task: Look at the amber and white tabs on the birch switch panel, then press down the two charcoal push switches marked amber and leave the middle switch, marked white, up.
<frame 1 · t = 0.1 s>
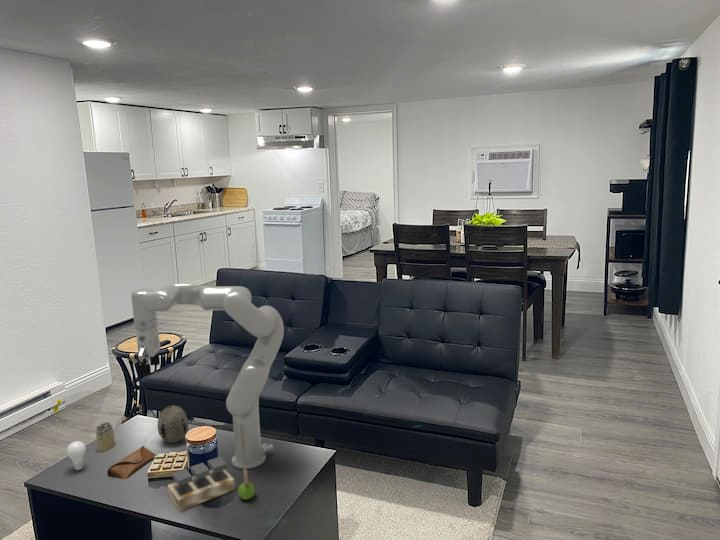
hand: (150, 369, 200), 37 cm above the table, tool pointing down, fingers open, 9 cm apart
switch 2: (217, 466, 191), point 7 cm above the table, slide at 0.0 cm
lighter: (107, 448, 221), on the table
decorative egg: (174, 441, 225), on the table
switch panel: (202, 492, 189), on the table
switch middle: (200, 472, 187), point 7 cm above the table, slide at 0.0 cm
lightbulb: (79, 470, 205), on the table
sunglasses case: (134, 467, 207), on the table
green maraca: (247, 499, 184), on the table
switch 1: (182, 479, 184), point 7 cm above the table, slide at 0.0 cm
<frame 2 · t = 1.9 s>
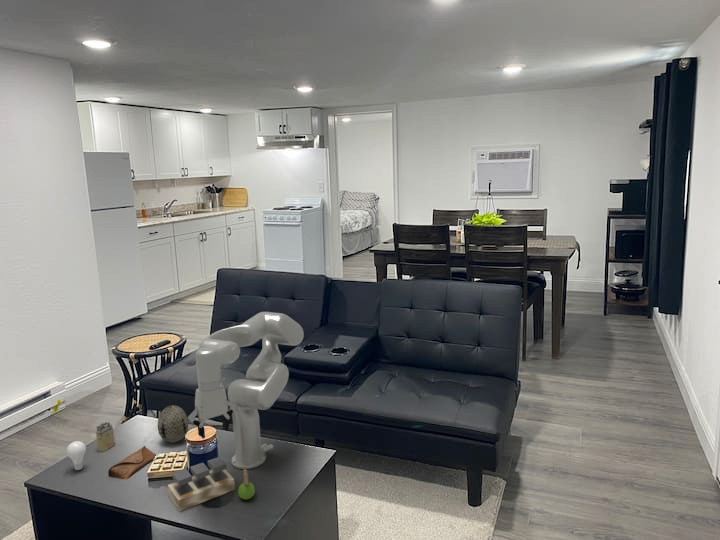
hand: (214, 432, 188), 20 cm above the table, tool pointing down, fingers open, 7 cm apart
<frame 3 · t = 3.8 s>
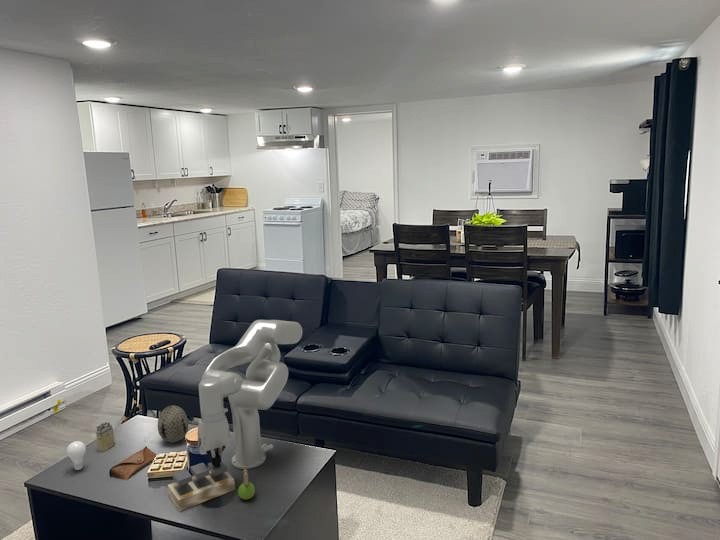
hand: (216, 465, 190), 8 cm above the table, tool pointing down, fingers closed
switch 2: (217, 469, 191), point 6 cm above the table, slide at 1.0 cm, touching gripper
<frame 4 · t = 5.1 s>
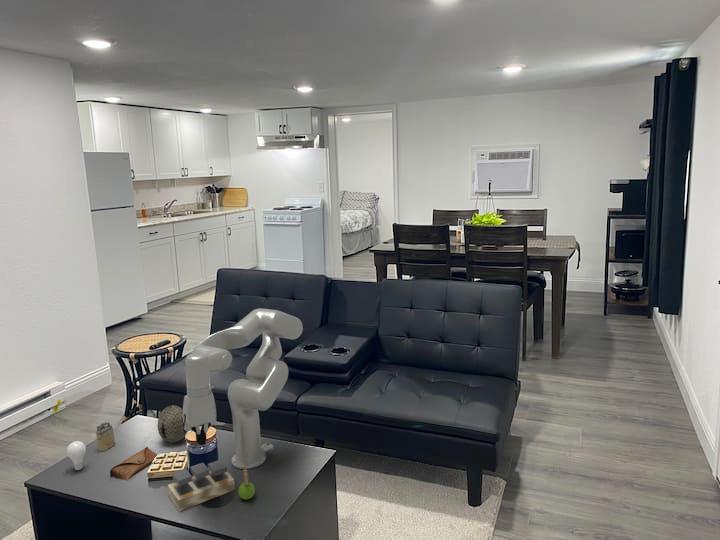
hand: (201, 443, 185), 18 cm above the table, tool pointing down, fingers closed
switch 2: (217, 469, 191), point 6 cm above the table, slide at 1.2 cm
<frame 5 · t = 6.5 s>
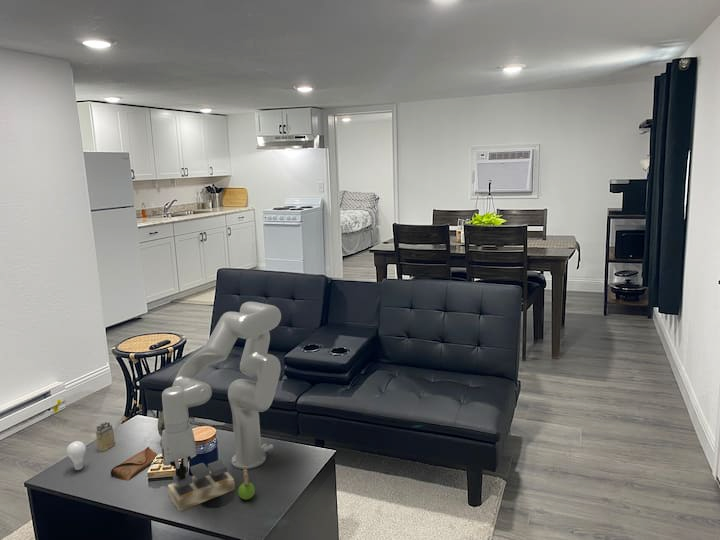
hand: (181, 476, 183), 8 cm above the table, tool pointing down, fingers closed
switch 1: (182, 481, 184), point 7 cm above the table, slide at 0.7 cm, touching gripper
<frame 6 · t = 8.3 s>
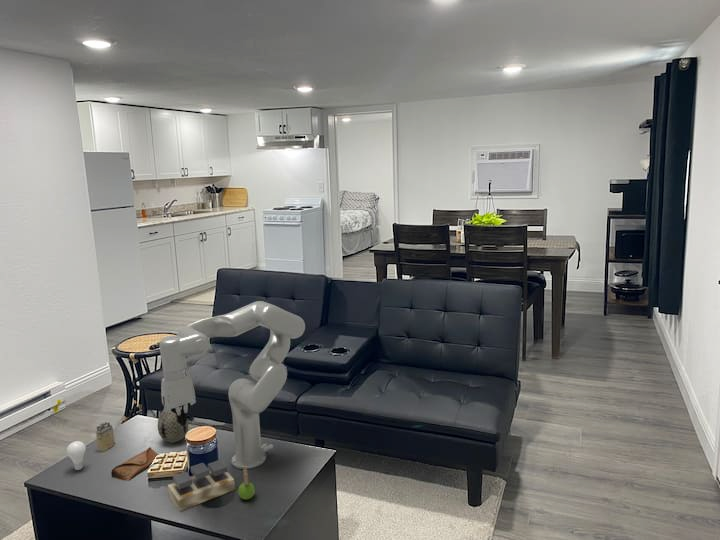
hand: (182, 423, 189), 23 cm above the table, tool pointing down, fingers closed
switch 1: (182, 482, 184), point 6 cm above the table, slide at 1.1 cm
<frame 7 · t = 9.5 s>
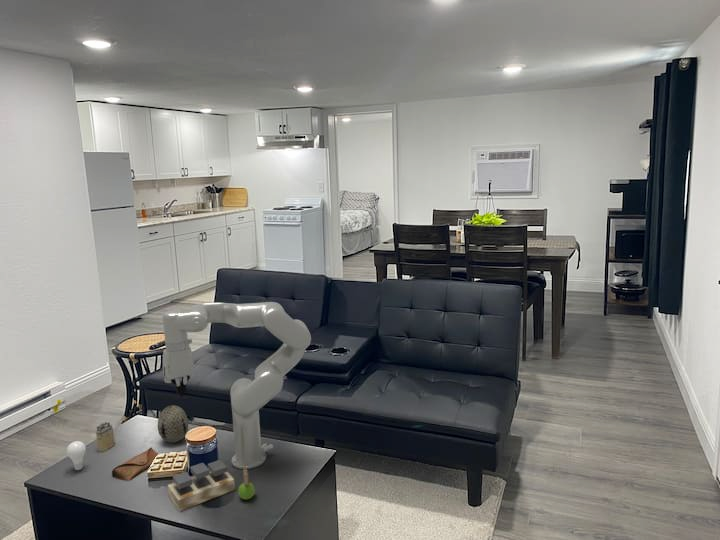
hand: (181, 394, 197), 29 cm above the table, tool pointing down, fingers closed
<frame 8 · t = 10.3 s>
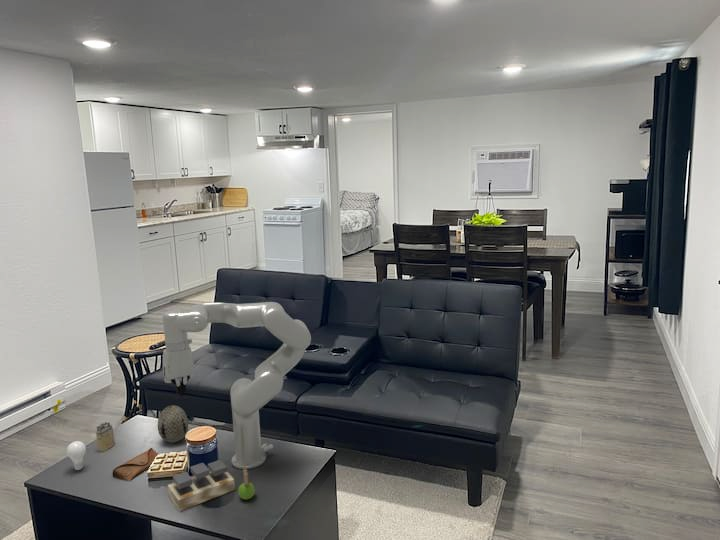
hand: (181, 394, 197), 29 cm above the table, tool pointing down, fingers closed
at the end: switch 2 slide at 1.2 cm; switch 1 slide at 1.1 cm; switch middle slide at 0.0 cm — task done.
